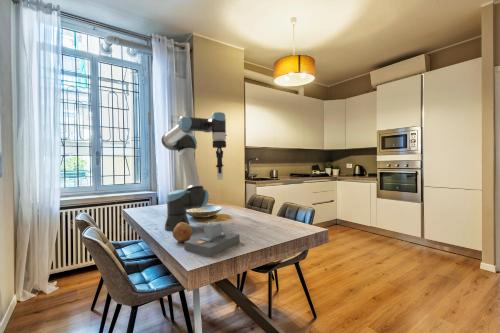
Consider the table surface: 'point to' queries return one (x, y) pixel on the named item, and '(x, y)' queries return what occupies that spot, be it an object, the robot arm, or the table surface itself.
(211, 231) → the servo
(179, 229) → the onion
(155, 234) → the table surface
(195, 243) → the pocket block
